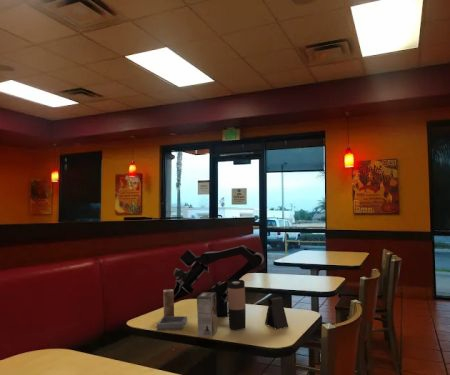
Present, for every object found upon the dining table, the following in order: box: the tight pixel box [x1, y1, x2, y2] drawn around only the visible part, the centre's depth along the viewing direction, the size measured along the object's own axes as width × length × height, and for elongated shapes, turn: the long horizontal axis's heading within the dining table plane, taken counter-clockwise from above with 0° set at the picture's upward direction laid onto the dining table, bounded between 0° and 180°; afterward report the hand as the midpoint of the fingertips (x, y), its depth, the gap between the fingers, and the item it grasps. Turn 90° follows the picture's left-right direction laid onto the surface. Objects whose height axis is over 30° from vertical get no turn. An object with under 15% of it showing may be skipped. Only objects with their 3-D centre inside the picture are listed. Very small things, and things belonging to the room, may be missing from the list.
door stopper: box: [264, 296, 289, 330], centre depth 167 cm, size 9×6×12 cm, turn 29°
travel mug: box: [227, 279, 247, 331], centre depth 166 cm, size 8×8×20 cm
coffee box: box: [196, 291, 218, 338], centre depth 160 cm, size 9×6×16 cm
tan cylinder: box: [162, 288, 175, 316], centre depth 183 cm, size 4×4×13 cm
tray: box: [156, 315, 188, 331], centre depth 171 cm, size 11×11×2 cm
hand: (172, 297), depth 184 cm, fingers open, 9 cm apart
